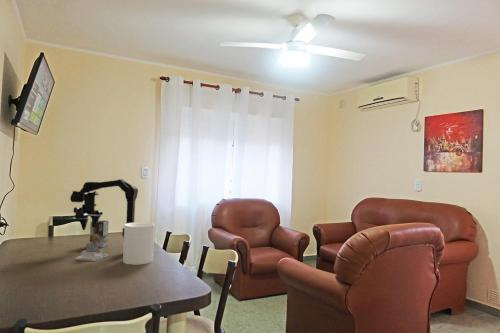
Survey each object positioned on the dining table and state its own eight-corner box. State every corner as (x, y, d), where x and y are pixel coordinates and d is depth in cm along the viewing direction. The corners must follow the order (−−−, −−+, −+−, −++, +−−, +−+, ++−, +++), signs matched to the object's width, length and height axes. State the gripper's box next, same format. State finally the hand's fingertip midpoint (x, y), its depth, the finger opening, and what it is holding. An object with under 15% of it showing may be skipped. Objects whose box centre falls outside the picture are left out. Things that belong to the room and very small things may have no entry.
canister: (144, 265, 176) (145, 227, 177) (116, 263, 180) (118, 225, 180) (158, 258, 192) (159, 223, 192) (133, 255, 195) (134, 221, 195)
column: (98, 254, 190) (98, 242, 190) (93, 256, 186) (93, 243, 186) (90, 254, 191) (91, 241, 191) (85, 256, 186) (86, 243, 186)
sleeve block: (107, 255, 194) (108, 248, 194) (95, 261, 182) (95, 253, 182) (88, 254, 195) (88, 247, 195) (75, 259, 183) (75, 252, 183)
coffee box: (108, 245, 218) (109, 220, 219) (102, 247, 212) (103, 222, 212) (94, 244, 219) (95, 219, 220) (89, 246, 213) (90, 221, 213)
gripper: (87, 200, 213) (86, 225, 213) (66, 203, 195) (65, 230, 194) (103, 201, 211) (102, 226, 211) (84, 204, 193) (83, 231, 193)
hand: (88, 228), depth 202 cm, fingers open, 9 cm apart
